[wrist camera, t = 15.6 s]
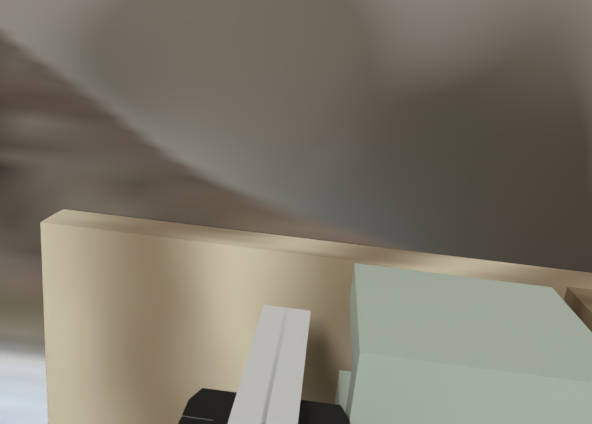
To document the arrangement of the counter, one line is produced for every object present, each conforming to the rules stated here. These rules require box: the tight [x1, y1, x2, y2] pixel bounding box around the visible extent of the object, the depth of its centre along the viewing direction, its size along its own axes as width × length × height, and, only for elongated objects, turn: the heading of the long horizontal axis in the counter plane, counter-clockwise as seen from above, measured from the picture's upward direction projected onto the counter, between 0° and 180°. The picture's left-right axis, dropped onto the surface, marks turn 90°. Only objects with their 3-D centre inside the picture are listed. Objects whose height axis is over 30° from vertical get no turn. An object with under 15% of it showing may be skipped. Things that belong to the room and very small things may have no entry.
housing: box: [335, 263, 592, 424], centre depth 15 cm, size 6×5×5 cm
